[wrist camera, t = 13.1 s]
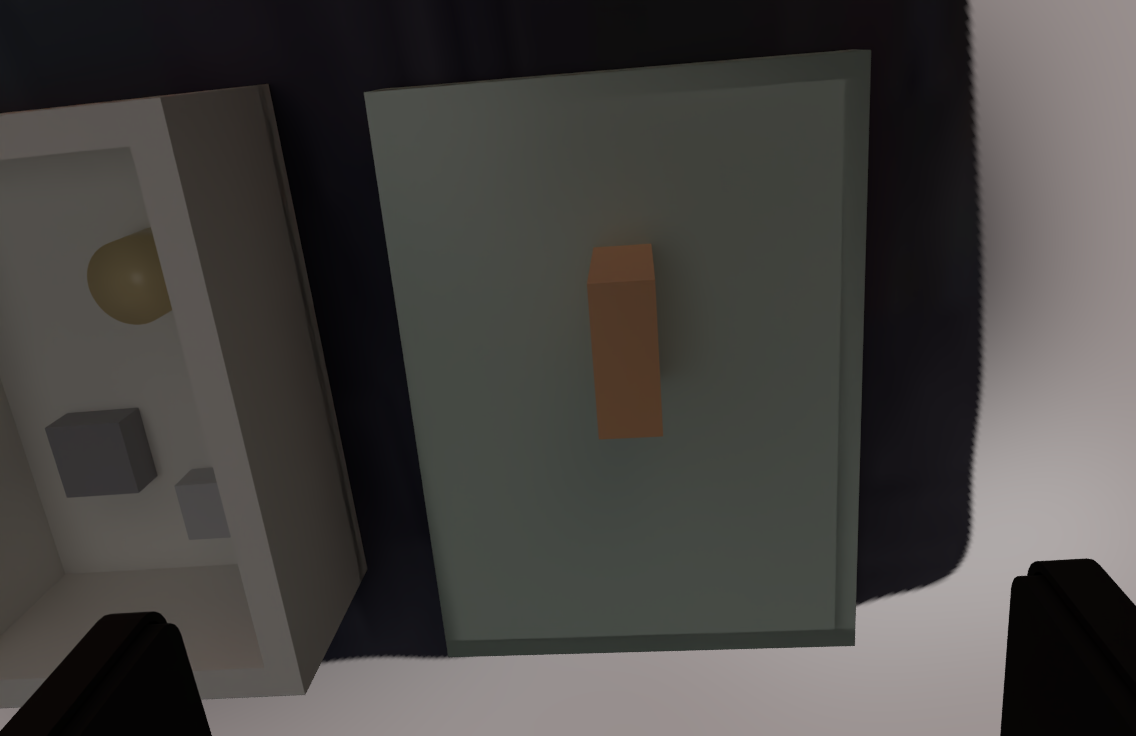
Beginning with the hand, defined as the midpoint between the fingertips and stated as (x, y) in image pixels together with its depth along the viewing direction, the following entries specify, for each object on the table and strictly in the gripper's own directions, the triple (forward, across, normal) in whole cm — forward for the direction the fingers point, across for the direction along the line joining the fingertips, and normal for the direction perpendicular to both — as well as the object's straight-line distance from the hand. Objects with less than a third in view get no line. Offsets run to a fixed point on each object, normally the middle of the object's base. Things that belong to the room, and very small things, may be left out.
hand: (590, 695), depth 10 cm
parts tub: (+25, +19, +4) cm, 31 cm away
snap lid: (+25, 0, +6) cm, 26 cm away
